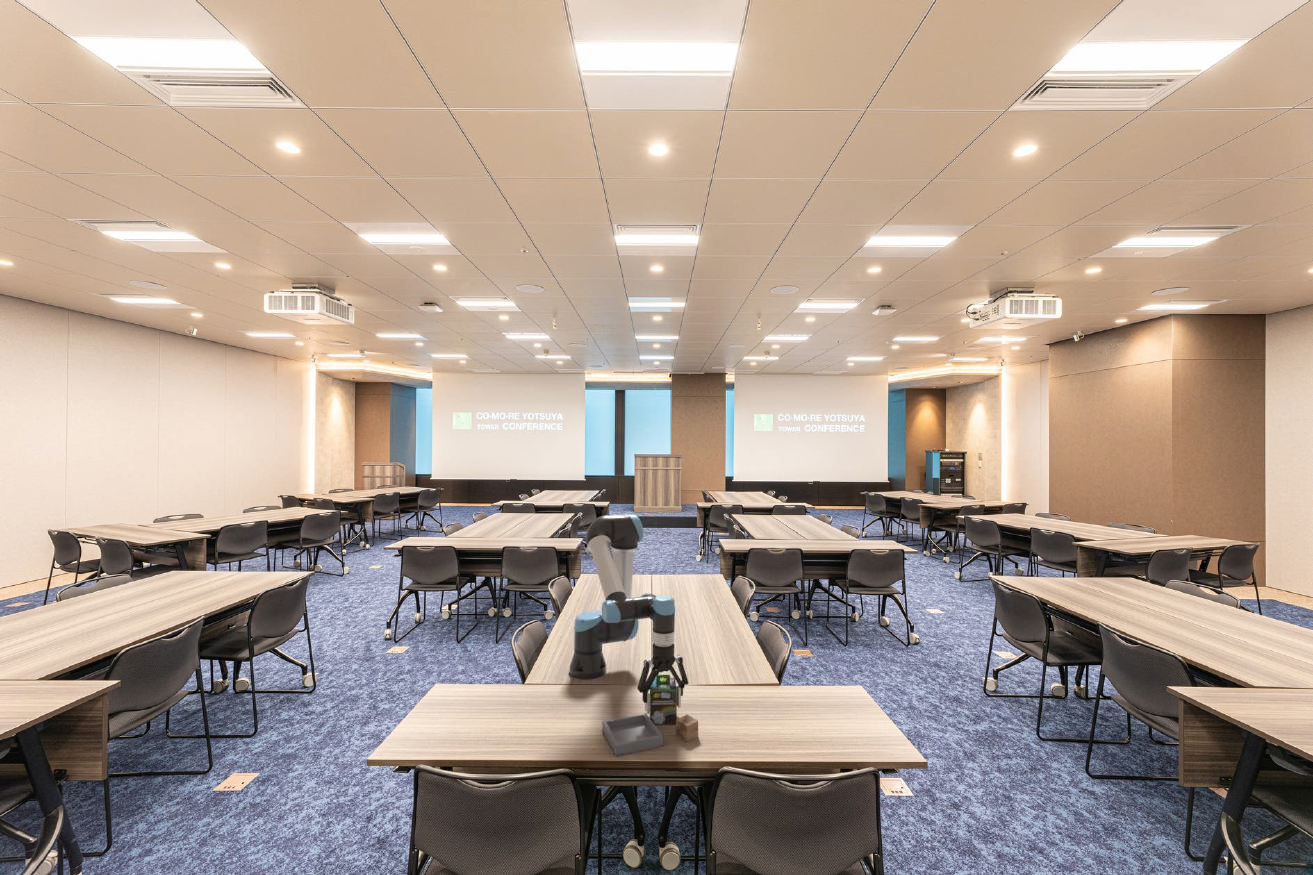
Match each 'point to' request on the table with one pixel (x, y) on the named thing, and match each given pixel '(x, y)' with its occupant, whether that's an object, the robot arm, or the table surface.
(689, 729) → the walnut block
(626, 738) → the tray
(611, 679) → the table surface
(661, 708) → the chalk box
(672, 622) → the robot arm
